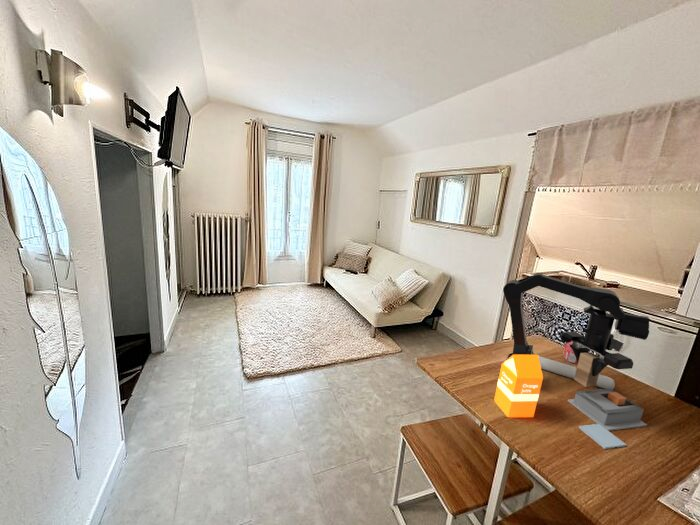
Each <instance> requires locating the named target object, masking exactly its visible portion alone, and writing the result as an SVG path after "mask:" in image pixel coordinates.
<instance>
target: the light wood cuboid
mask: <svg viewBox="0 0 700 525" xmlns="http://www.w3.org/2000/svg"><path fill="white" fill-rule="evenodd" d="M599 357H600V356H598V354H596V353H594V352H593V353H592V352H591V351H589V352H588V353H580V357H579V361H578V364H576V365H577V366H576V367H577V369H576V373H575V377H574V379H573V380H574V381H576V382H577V383H579V384H580V385H582V386H583V387H584V388H589V387H590V388H593V387H597V386H596V384H597V380H598V376H599V374H600V373H599V374H598V375H597V376H592V368H593V358H599Z"/></svg>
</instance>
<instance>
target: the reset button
mask: <svg viewBox="0 0 700 525" xmlns="http://www.w3.org/2000/svg"><path fill="white" fill-rule="evenodd" d="M607 399H608V400H610V401H611V402H613V403H614V404H616V405H624V403H625V400H626V399H627V398H626V397H625V396H623V395H622V394H620V393H618V392H617V391H615V392H612V393H609V394H608V397H607Z"/></svg>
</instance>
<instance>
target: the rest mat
mask: <svg viewBox="0 0 700 525" xmlns="http://www.w3.org/2000/svg"><path fill="white" fill-rule="evenodd" d="M578 429H579V430H580V431H582V432H583V433H584V434H586V435H587V436H588V437H589V438H591V439H592V441H594V442H595V443H596V444H597V445H599V446H600V447H601V448H602V449H604V450H608V449H615V447H617V448H624V447H626V446H627V443H625V442H624V441H623V440H621V439H620V438H618V436H616V435H614V434H613V433H612V432H610V431H608V430H607V429H605V428H604V427H603V426H601V425H600V424H597V423H595V424H594V423H593V424H584V425H578Z"/></svg>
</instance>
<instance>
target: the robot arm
mask: <svg viewBox="0 0 700 525" xmlns="http://www.w3.org/2000/svg"><path fill="white" fill-rule="evenodd" d="M538 287H540V288H544V289H547V290H551V291H553V292H557V293H560V294H564V295H566V296H570V297H573V298H576V299H579V300H581V301H583V302H585V303H586V304H588V305H589V306H586V307H584V308H583V313H584V314H588V315H589V318H588V322H587V326H586V328H585V327H583V329H582V332H583V333H585V334H584V335H583V334H580V333H578V332H576V331H564V332H562V333H561V335H560V340H561V341H563V342H565V344H566V343H570V342H571V341H573V342H572V345H570V347H571V348H572V350H573V352H574V354H575V357H576V359H577V362H578V361H579V357H580V353H588V352H591V351H592V352H593V353H594V354H596V355H599V356H598V357H599V358H593V368H592V376H597V375H598V374H600V373H601V372H602V371H603V370H605V368H606V367H607V366H609V367H611V368H613V369H615V370H630V369H633V367H634V361H633V360H632V359H631V358H630V357H628V356H626V355H624V354H621V353H619V352H620V350H621V349H622V348H623V346H624V344H625V343H624V342H622V341H619V340H617V339H615V337H614V336H615V335H614V334H612V328H613V325H614V330H616V331H617V333H618V334H619V335H622V336H627V337H631V338H635V339H640V340H644V341H645V340H646V341H647V338H648V337H649V334H650V321H651V319H650V318H649V317H648V316H645V315H637V314H633V313H632V314H631V313H626V312H625V311H624V309H623V308H622V307H620V304H621V300H620V299H619V296H618V295H617V294H616V292H615V291H613V290H611V289H608V288H600V287H591V286H584V285H579V284H575V283H571V282H569V281H566V280H562V279H559V278H555V277H553V276H548V275H545V274H543V273H540V272H536V273H534V274H533V275H529V276H526V277H524V278H521V279H518V280H517V279H511V280H509V281H508V282H507V283H506V284H505V285H504V286H503V288H502V289H503V290H502V292H503V294H504V295H503V296H504V298H505V300H506V303H507V304H508V307H509V314H510V319H511V329H512V336H513V350H512V352H511V353H508V355H507V357H506V359H505V361H506V360H507V359H508V358H510V357H511V356H512V355H535V353H534V345H533V344H529V343H528V340H527V333H526V327H525V318H524V311H523V310H524V309H523V300H524V293H526V292H528V291H530V290H533V289H534V288H538ZM614 322H615V323H614ZM582 335H583V336H582ZM584 336H585V337H584ZM613 350H614V351H616V353H612V352H610V351H613ZM608 351H609V352H608ZM499 375H500V373H498V377H499Z"/></svg>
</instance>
